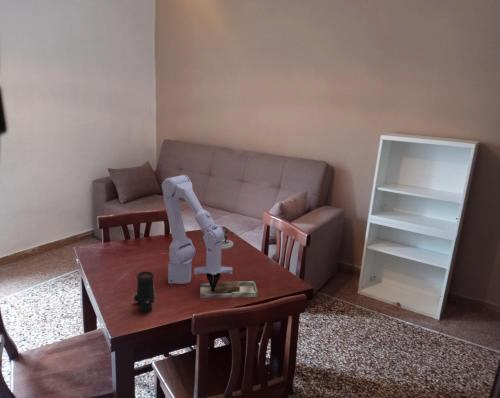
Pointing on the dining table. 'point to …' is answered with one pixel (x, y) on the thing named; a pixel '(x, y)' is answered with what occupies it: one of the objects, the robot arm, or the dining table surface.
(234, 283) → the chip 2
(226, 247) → the monster figurine
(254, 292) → the slot board
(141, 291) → the scope
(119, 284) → the dining table surface
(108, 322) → the dining table surface
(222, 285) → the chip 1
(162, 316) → the dining table surface
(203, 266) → the robot arm
